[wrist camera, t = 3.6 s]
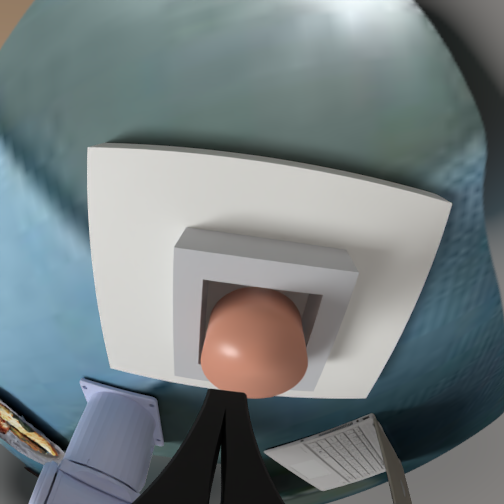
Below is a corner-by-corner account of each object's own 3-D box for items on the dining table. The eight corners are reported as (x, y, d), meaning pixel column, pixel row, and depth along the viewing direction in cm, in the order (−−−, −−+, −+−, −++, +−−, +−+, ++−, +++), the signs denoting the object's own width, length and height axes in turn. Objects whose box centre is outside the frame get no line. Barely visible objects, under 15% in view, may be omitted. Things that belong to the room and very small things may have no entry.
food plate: (-43, 387, 32) (-50, 398, 29) (-28, 354, 26) (-40, 370, 23) (49, 463, 41) (44, 475, 38) (100, 459, 35) (95, 476, 32)
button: (290, 361, 17) (294, 401, 14) (207, 351, 17) (199, 391, 14) (311, 293, 15) (320, 332, 12) (212, 280, 15) (203, 318, 12)
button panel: (360, 380, 23) (372, 422, 19) (119, 351, 22) (99, 391, 18) (435, 193, 16) (476, 218, 12) (104, 142, 15) (61, 154, 11)
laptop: (262, 446, 28) (261, 552, 17) (374, 409, 25) (403, 524, 14) (321, 487, 35) (327, 559, 23) (401, 460, 32) (419, 534, 20)
